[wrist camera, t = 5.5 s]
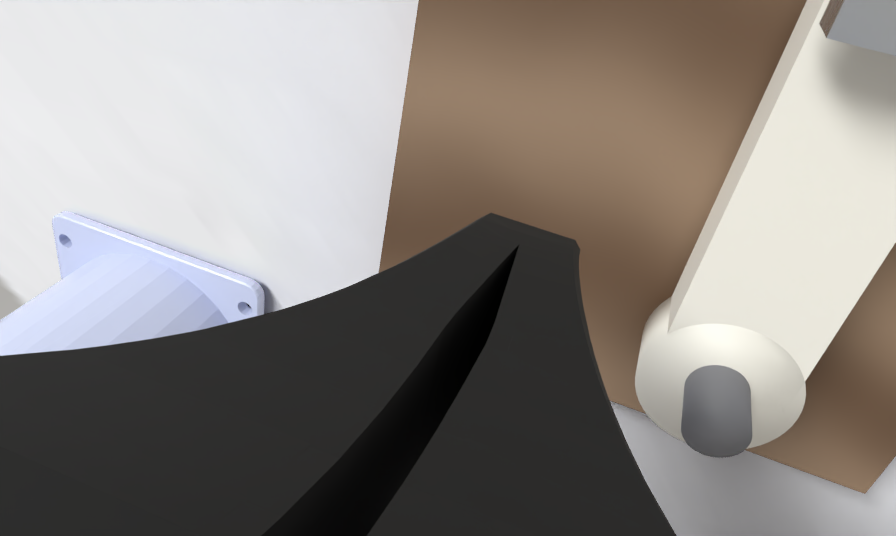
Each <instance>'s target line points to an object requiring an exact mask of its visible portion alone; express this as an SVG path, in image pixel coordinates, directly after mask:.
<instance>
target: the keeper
mask: <svg viewBox="0 0 896 536" xmlns="http://www.w3.org/2000/svg"><path fill="white" fill-rule="evenodd" d="M819 24H820V26H821V28H822V30H823V32H824V34H825V36H826V38H828V39H832V40H836V41H840V42H843V43H847V44H851V45H855V46H859V47H863V48H867V49H871V50H874V51H878V52H882V53H886V54H890V55H894V56H896V0H830V2H829V4H828V6H827V8H826V10H825V12H824V14H823V16H822V19H821V21H820V23H819Z"/></svg>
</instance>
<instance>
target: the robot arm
mask: <svg viewBox="0 0 896 536" xmlns="http://www.w3.org/2000/svg"><path fill="white" fill-rule="evenodd" d="M52 225H53V231H54V237H55V243H56V249H57V255H58V261H59V267H60V273H61V278H62V280H60V281H59V282H57V283H56V284H54V285H53V286H51V287H50V288H48V289H47V290H45V291H44V292H42V293H41V294H39V295H38V296H36V297H35V298H33V299H31V300H30V301H28V302H27V303H25V304H24V305H22V306H21V307H19V308H18V309H17V310H15V311H13V312H12V313H10V314H9V315H7V316H6V317H4V318H3V319H1V320H0V536H676V534H675V533H674V531H673V529H672V527H671V526H670V524H669V522H668V520H667V519H666V517H665V515H664V513H663V512H662V510H661V508H660V506H659V505H658V503H657V501H656V499H655V497H654V496H653V494H652V492H651V490H650V489H649V487H648V485H647V483H646V481H645V479H644V478H643V475H642V473H641V471H640V469H639V467H638V465H637V463H636V461H635V459H634V457H633V455H632V452H631V450H630V448H629V446H628V444H627V442H626V440H625V437H624V435H623V433H622V430H621V428H620V425H619V423H618V421H617V418H616V416H615V414H614V411H613V408H612V406H611V403H610V400H609V398H608V395H607V392H606V389H605V386H604V383H603V380H602V377H601V374H600V371H599V368H598V364H597V361H596V358H595V354H594V351H593V347H592V343H591V339H590V335H589V330H588V326H587V321H586V316H585V312H584V307H583V301H582V295H581V286H580V277H579V254H580V248H579V246H578V244H577V242H576V240H574V239H571V238H568V237H565V236H561V235H558V234H555V233H552V232H549V231H546V230H543V229H540V228H537V227H534V226H531V225H528V224H525V223H521V222H518V221H515V220H512V219H509V218H506V217H503V216H500V215H497V214H494V213H489V214H487V215H485V216H483V217H481V218H479V219H477V220H476V221H474V222H472V223H471V224H469V225H467V226H466V227H464V228H462V229H461V230H459V231H457V232H456V233H454V234H452V235H450V236H449V237H447V238H445V239H444V240H442V241H440V242H438V243H437V244H435V245H433V246H431V247H429V248H427V249H425V250H424V251H422V252H420V253H418V254H416V255H414V256H412V257H410V258H409V259H407V260H405V261H403V262H401V263H399V264H397V265H395V266H393V267H391V268H389V269H386V270H384V271H382V272H380V273H378V274H375V275H373V276H371V277H369V278H367V279H364V280H362V281H360V282H358V283H356V284H353V285H351V286H349V287H346V288H344V289H341V290H339V291H336V292H333V293H330V294H328V295H325V296H322V297H319V298H316V299H313V300H310V301H307V302H304V303H301V304H298V305H295V306H292V307H289V308H285V309H282V310H279V311H275V312H271V313H267V314H264V298H265V296H264V291H263V289H262V287H261V285H260V284H259V283H258V282H256V281H255V280H253V279H251V278H248V277H245V276H243V275H240V274H237V273H234V272H232V271H229V270H226V269H224V268H221V267H218V266H215V265H213V264H210V263H207V262H205V261H202V260H199V259H196V258H194V257H191V256H188V255H185V254H183V253H180V252H177V251H175V250H172V249H169V248H166V247H164V246H161V245H158V244H156V243H153V242H150V241H147V240H145V239H142V238H139V237H137V236H134V235H131V234H128V233H126V232H123V231H120V230H118V229H115V228H112V227H109V226H107V225H104V224H101V223H98V222H96V221H93V220H90V219H88V218H85V217H82V216H79V215H77V214H74V213H71V212H68V211H63V212H61V213H59V214H57V215H55V216H54V217H53V219H52ZM246 303H247V304H249V306H250V307H251V308H250V307H248V306H247V305H246Z"/></svg>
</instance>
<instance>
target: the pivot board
mask: <svg viewBox="0 0 896 536" xmlns="http://www.w3.org/2000/svg"><path fill="white" fill-rule="evenodd" d="M806 1H807V0H419V3H418V10H417V17H416V24H415V30H414V37H413V44H412V51H411V58H410V64H409V71H408V78H407V85H406V92H405V98H404V105H403V112H402V119H401V125H400V132H399V139H398V146H397V153H396V159H395V166H394V173H393V180H392V187H391V193H390V200H389V207H388V214H387V220H386V227H385V234H384V241H383V248H382V254H381V261H380V268H379V273H380V272H382V271H384V270H386V269H389V268H391V267H393V266H395V265H397V264H399V263H401V262H403V261H405V260H407V259H409V258H410V257H412V256H414V255H416V254H418V253H420V252H422V251H424V250H425V249H427V248H429V247H431V246H433V245H435V244H437V243H438V242H440V241H442V240H444V239H445V238H447V237H449V236H450V235H452V234H454V233H456V232H457V231H459V230H461V229H462V228H464V227H466V226H467V225H469V224H471V223H472V222H474V221H476V220H477V219H479V218H481V217H483V216H485V215H487V214H489V213H494V214H497V215H500V216H503V217H506V218H509V219H512V220H515V221H518V222H521V223H525V224H528V225H531V226H534V227H537V228H540V229H543V230H546V231H549V232H552V233H555V234H558V235H561V236H565V237H568V238H571V239H574V240H576V242H577V244H578V246H579V248H580V254H579V277H580V286H581V295H582V301H583V307H584V312H585V316H586V321H587V326H588V330H589V335H590V339H591V343H592V347H593V351H594V354H595V358H596V361H597V364H598V368H599V371H600V374H601V377H602V380H603V383H604V386H605V389H606V392H607V395H608V398H609V400H610V401H612V402H615V403H618V404H621V405H623V406H626V407H629V408H632V409H634V410H637V411H640V412H643V413H645V411H644V410H643V408H642V406H641V404H640V402H639V400H638V397H637V394H636V388H635V375H636V369H637V363H638V357H639V352H640V346H641V340H642V334H643V330H644V327H645V324H646V322H647V320H648V318H649V316H650V315H651V314H652V313H653V311H654V310H655V309H656V308H657V307H658V306H659V305H660V304H661V303H663V302H664V301H665V300H667V299H668V298H670V297H672V295H673V293H674V290H675V288H676V286H677V284H678V282H679V279H680V277H681V275H682V273H683V271H684V268H685V266H686V264H687V262H688V260H689V257H690V255H691V253H692V251H693V249H694V247H695V244H696V242H697V240H698V238H699V236H700V233H701V231H702V229H703V227H704V225H705V222H706V220H707V218H708V216H709V214H710V211H711V209H712V207H713V205H714V203H715V201H716V198H717V196H718V194H719V192H720V190H721V187H722V185H723V183H724V181H725V179H726V176H727V174H728V172H729V170H730V168H731V166H732V163H733V161H734V159H735V157H736V155H737V152H738V150H739V148H740V146H741V144H742V141H743V139H744V137H745V135H746V133H747V130H748V128H749V126H750V124H751V122H752V120H753V117H754V115H755V113H756V111H757V109H758V106H759V104H760V102H761V100H762V98H763V95H764V93H765V91H766V89H767V87H768V84H769V82H770V80H771V78H772V76H773V74H774V71H775V69H776V67H777V65H778V63H779V60H780V58H781V56H782V54H783V52H784V49H785V47H786V45H787V43H788V41H789V39H790V36H791V34H792V32H793V30H794V28H795V25H796V23H797V21H798V19H799V17H800V14H801V12H802V10H803V8H804V6H805V3H806ZM805 385H806V398H805V404H804V407H803V410H802V412H801V414H800V416H799V418H798V419H797V421H796V422H795V423H794V424H793V426H792V427H791V428H789V429H788V430H787V431H786V432H785V433H784V434H782V435H781V436H779V437H778V438H776V439H774V440H772V441H770V442H768V443H765V444H763V445H760V446H756V447H753V448H748V449H745V450H747V451H749V452H752V453H755V454H758V455H760V456H763V457H766V458H769V459H771V460H774V461H777V462H780V463H782V464H785V465H788V466H790V467H793V468H796V469H799V470H801V471H804V472H807V473H810V474H812V475H815V476H818V477H821V478H823V479H826V480H829V481H832V482H834V483H837V484H840V485H843V486H845V487H848V488H851V489H853V490H856V491H859V492H862V493H864V494H865V493H866V492H867V491H868V489H869V488H870V487H871V486H872V485H873V483H874V482H875V481H876V480H877V478H878V477H879V476H880V475H881V473H882V472H883V471H884V470H885V468H886V467H887V466H888V465H889V464H890V462H891V461H892V460H893V459H894V457H895V456H896V243H895V244H894V246H893V247H892V249H891V250H890V252H889V253H888V255H887V256H886V258H885V260H884V261H883V263H882V264H881V266H880V267H879V269H878V270H877V272H876V273H875V275H874V276H873V278H872V280H871V281H870V283H869V284H868V286H867V287H866V289H865V290H864V292H863V293H862V295H861V296H860V298H859V300H858V301H857V303H856V304H855V306H854V307H853V309H852V310H851V312H850V313H849V315H848V316H847V318H846V320H845V321H844V323H843V324H842V326H841V327H840V329H839V330H838V332H837V333H836V335H835V336H834V338H833V340H832V341H831V343H830V344H829V346H828V347H827V349H826V350H825V352H824V353H823V355H822V356H821V358H820V360H819V361H818V363H817V364H816V366H815V367H814V369H813V370H812V372H811V373H810V375H809V376H808V378H807V380H806V381H805ZM645 414H646V413H645Z"/></svg>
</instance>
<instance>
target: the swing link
mask: <svg viewBox="0 0 896 536" xmlns="http://www.w3.org/2000/svg"><path fill="white" fill-rule="evenodd" d="M829 2H830V0H807V1H806V3H805V6H804V8H803V10H802V12H801V14H800V17H799V19H798V21H797V23H796V25H795V28H794V30H793V32H792V34H791V36H790V39H789V41H788V43H787V45H786V47H785V49H784V52H783V54H782V56H781V58H780V60H779V63H778V65H777V67H776V69H775V71H774V74H773V76H772V78H771V80H770V82H769V84H768V87H767V89H766V91H765V93H764V95H763V98H762V100H761V102H760V104H759V106H758V109H757V111H756V113H755V115H754V117H753V120H752V122H751V124H750V126H749V128H748V130H747V133H746V135H745V137H744V139H743V141H742V144H741V146H740V148H739V150H738V152H737V155H736V157H735V159H734V161H733V163H732V166H731V168H730V170H729V172H728V174H727V176H726V179H725V181H724V183H723V185H722V187H721V190H720V192H719V194H718V196H717V198H716V201H715V203H714V205H713V207H712V209H711V211H710V214H709V216H708V218H707V220H706V222H705V225H704V227H703V229H702V231H701V233H700V236H699V238H698V240H697V242H696V244H695V247H694V249H693V251H692V253H691V255H690V257H689V260H688V262H687V264H686V266H685V268H684V271H683V273H682V275H681V277H680V279H679V282H678V284H677V286H676V288H675V290H674V293H673V295H672V297H670V298H668V299H667V300H665V301H664V302H663V303H661V304H660V305H659V306H658V307H657V308H656V309H655V310H654V311H653V313H652V314H651V315H650V316H649V318H648V320H647V322H646V324H645V327H644V330H643V334H642V340H641V346H640V352H639V357H638V363H637V369H636V375H635V388H636V394H637V397H638V400H639V402H640V404H641V406H642V408H643V410H644V411H645V413H646V414H647V415H648V417H649V418H650V419H651V420H652V421H653V422H654V423H655V424H656V425H657V426H658V427H660V428H661V429H662V430H664V431H665V432H666V433H668V434H669V435H671V436H673V437H675V438H677V439H679V440H681V441H683V442H686V443H687V444H688V445H689V446H690V447H691V448H693V449H694V450H695V451H697V452H699V453H701V454H704V455H707V456H711V457H730V456H734V455H737V454H739V453H741V452H743V451H744V450H745V449H748V448H753V447H756V446H760V445H763V444H765V443H768V442H770V441H772V440H774V439H776V438H778V437H779V436H781V435H782V434H784V433H785V432H786V431H787V430H788V429H789V428H791V427H792V426H793V424H794V423H795V422H796V421H797V419H798V418H799V416H800V414H801V412H802V410H803V407H804V404H805V398H806V385H805V381H806V380H807V378H808V376H809V375H810V373H811V372H812V370H813V369H814V367H815V366H816V364H817V363H818V361H819V360H820V358H821V356H822V355H823V353H824V352H825V350H826V349H827V347H828V346H829V344H830V343H831V341H832V340H833V338H834V336H835V335H836V333H837V332H838V330H839V329H840V327H841V326H842V324H843V323H844V321H845V320H846V318H847V316H848V315H849V313H850V312H851V310H852V309H853V307H854V306H855V304H856V303H857V301H858V300H859V298H860V296H861V295H862V293H863V292H864V290H865V289H866V287H867V286H868V284H869V283H870V281H871V280H872V278H873V276H874V275H875V273H876V272H877V270H878V269H879V267H880V266H881V264H882V263H883V261H884V260H885V258H886V256H887V255H888V253H889V252H890V250H891V249H892V247H893V246H894V244H895V243H896V56H894V55H890V54H886V53H882V52H878V51H874V50H871V49H867V48H863V47H859V46H855V45H851V44H847V43H843V42H840V41H836V40H832V39H828V38H826V36H825V34H824V32H823V30H822V28H821V26H820V24H819V23H820V21H821V19H822V16H823V14H824V12H825V10H826V8H827V6H828V4H829Z"/></svg>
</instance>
